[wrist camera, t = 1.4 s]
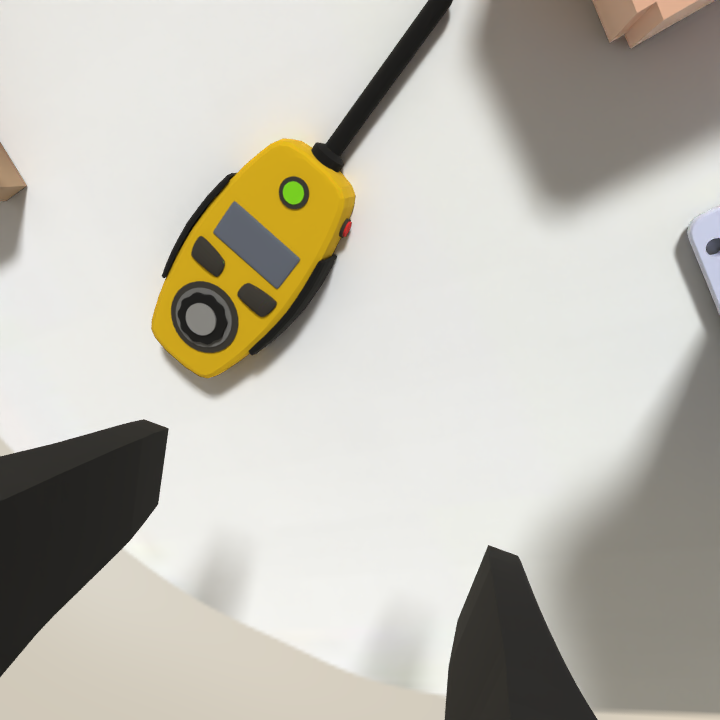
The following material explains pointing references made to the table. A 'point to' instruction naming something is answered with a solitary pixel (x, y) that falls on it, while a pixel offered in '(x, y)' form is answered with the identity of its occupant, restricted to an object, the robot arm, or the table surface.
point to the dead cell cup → (642, 16)
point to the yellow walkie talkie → (267, 236)
